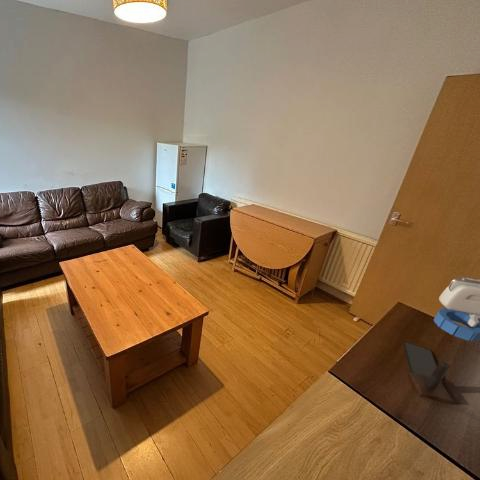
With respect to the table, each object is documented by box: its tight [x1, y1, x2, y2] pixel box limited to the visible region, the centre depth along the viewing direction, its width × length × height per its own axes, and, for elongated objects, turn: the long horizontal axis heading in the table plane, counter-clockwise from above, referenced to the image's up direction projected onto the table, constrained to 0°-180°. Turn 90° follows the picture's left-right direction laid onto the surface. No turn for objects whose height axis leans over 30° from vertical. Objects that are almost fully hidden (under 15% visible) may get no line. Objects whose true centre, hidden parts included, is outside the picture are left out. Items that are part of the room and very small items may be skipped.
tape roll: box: [433, 307, 480, 342], centre depth 68 cm, size 9×10×3 cm
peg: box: [407, 360, 455, 405], centre depth 72 cm, size 7×7×10 cm
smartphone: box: [403, 342, 444, 385], centre depth 82 cm, size 7×1×15 cm
